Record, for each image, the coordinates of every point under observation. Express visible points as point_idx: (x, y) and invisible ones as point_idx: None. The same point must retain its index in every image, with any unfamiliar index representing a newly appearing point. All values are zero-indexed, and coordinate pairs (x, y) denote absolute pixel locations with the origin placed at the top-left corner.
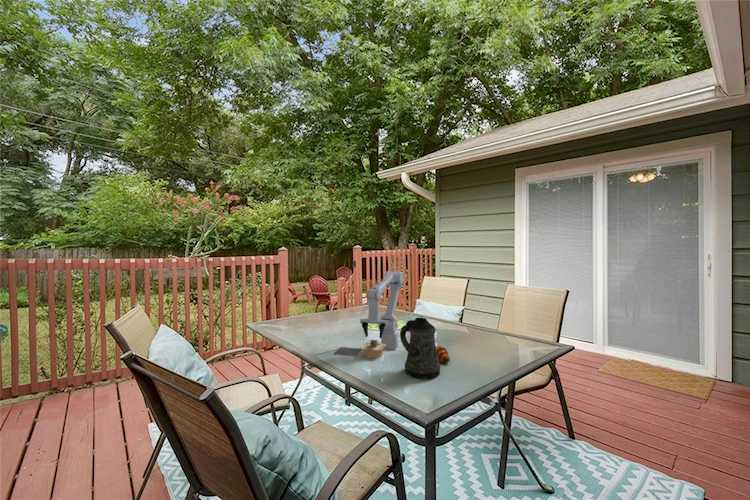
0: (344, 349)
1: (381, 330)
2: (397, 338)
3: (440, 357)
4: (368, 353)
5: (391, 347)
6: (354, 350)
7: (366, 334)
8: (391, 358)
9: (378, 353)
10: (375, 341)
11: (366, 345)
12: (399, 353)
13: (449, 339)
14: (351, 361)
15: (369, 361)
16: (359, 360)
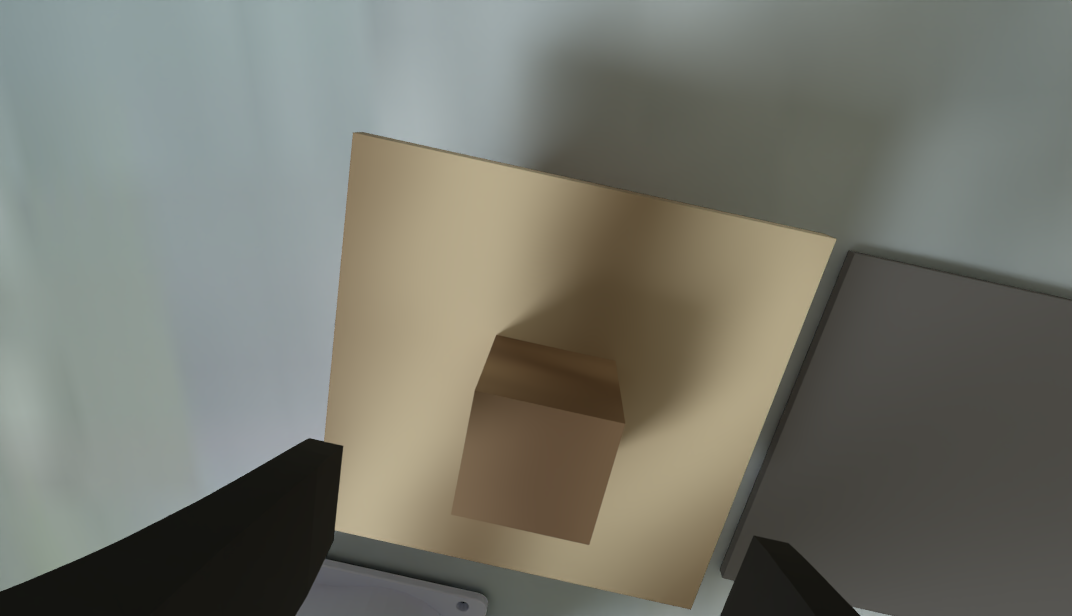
0: (1012, 555)
1: (19, 614)
2: None
3: None
4: None
5: (311, 595)
6: (854, 516)
7: (801, 592)
8: (273, 227)
9: None
10: (488, 401)
11: (699, 443)
12: (196, 436)
13: None
14: (946, 29)
15: (615, 56)
16: (792, 95)
